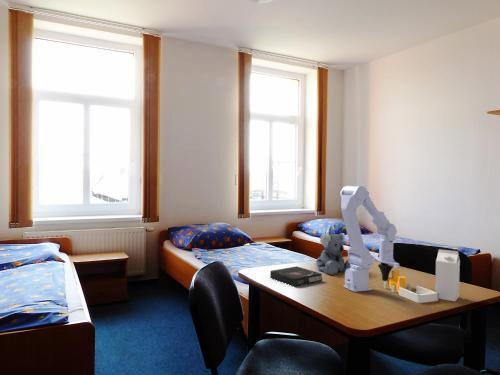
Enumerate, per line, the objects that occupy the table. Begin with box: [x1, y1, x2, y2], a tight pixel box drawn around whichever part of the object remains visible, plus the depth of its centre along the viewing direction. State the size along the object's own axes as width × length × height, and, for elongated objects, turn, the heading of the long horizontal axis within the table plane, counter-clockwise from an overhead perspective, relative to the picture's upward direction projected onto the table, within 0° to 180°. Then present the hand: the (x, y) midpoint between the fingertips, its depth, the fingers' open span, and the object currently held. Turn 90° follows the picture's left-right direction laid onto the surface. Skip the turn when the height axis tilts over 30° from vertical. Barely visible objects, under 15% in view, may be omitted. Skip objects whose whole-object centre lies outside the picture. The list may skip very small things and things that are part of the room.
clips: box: [391, 283, 412, 293], centre depth 160 cm, size 9×1×2 cm, turn 110°
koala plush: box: [315, 232, 351, 276], centre depth 193 cm, size 17×18×20 cm
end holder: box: [398, 285, 439, 304], centre depth 151 cm, size 10×11×3 cm
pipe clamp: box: [386, 269, 407, 293], centre depth 163 cm, size 12×4×6 cm, turn 174°
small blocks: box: [383, 281, 388, 289], centre depth 164 cm, size 9×1×2 cm, turn 110°
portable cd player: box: [269, 266, 323, 288], centre depth 174 cm, size 16×17×4 cm
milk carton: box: [434, 248, 461, 302], centre depth 151 cm, size 7×7×19 cm
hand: (385, 280), depth 169 cm, fingers closed, pressing on pipe clamp
